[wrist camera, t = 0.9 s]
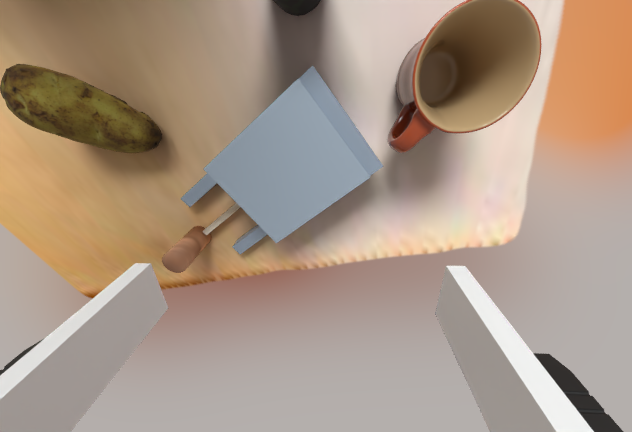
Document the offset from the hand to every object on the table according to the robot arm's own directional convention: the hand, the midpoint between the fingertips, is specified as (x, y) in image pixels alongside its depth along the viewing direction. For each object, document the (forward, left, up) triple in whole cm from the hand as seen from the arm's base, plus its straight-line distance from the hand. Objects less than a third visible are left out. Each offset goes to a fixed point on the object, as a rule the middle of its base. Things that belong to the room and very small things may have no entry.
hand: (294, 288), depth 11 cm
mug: (0, +14, -23) cm, 27 cm away
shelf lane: (-3, -6, -23) cm, 24 cm away
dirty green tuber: (-21, -16, -23) cm, 35 cm away
